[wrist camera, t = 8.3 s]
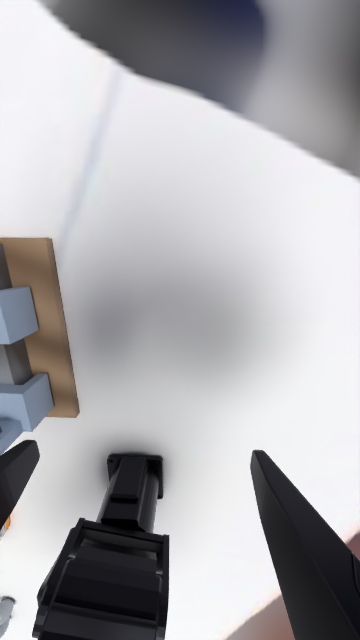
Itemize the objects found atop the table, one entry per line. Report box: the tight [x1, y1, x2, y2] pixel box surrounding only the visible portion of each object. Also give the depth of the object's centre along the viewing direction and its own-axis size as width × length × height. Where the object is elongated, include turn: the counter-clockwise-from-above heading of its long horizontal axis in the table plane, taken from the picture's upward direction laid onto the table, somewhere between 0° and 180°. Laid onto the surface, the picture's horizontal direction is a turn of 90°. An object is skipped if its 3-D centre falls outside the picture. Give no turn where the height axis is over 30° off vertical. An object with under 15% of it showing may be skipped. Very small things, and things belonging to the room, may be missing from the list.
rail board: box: [0, 238, 79, 418], centre depth 19 cm, size 18×9×3 cm, turn 179°
